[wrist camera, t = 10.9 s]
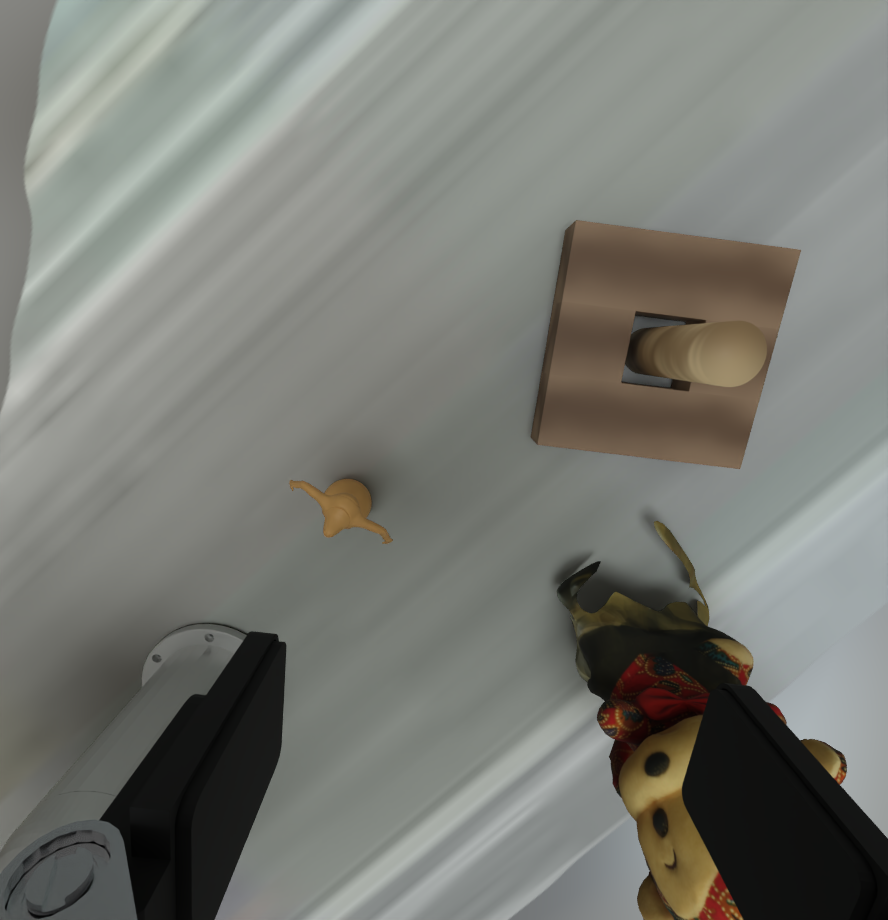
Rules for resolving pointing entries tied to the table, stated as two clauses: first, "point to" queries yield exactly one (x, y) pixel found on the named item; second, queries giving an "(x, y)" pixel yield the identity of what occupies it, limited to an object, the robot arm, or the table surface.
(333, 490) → the figurine
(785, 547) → the table surface
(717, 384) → the peg
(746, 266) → the socket block
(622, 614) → the red green tall figure
